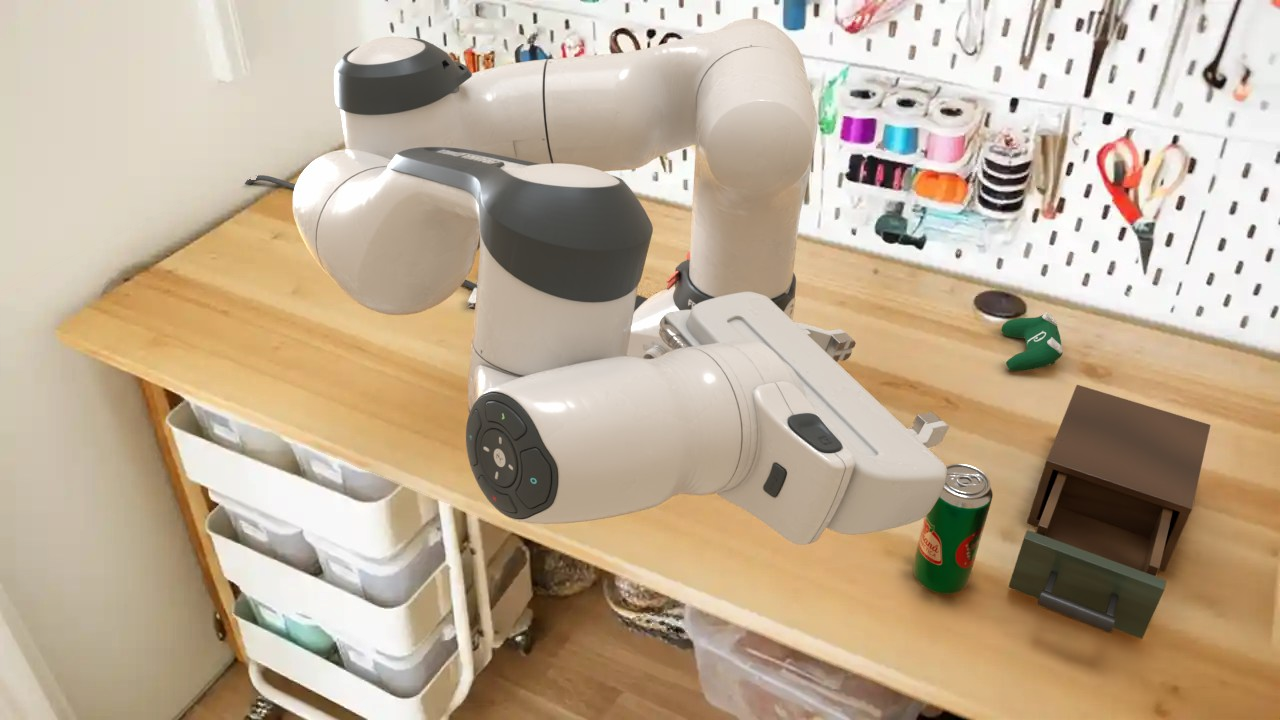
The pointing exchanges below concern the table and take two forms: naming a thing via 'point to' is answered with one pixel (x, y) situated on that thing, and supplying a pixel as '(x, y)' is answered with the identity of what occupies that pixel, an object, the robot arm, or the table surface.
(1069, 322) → the table surface
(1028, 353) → the gaming controller
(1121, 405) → the cabinet
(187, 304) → the table surface
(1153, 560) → the drawer
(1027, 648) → the table surface
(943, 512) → the soda can
